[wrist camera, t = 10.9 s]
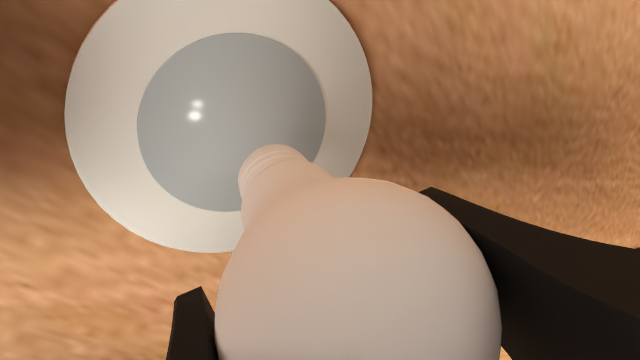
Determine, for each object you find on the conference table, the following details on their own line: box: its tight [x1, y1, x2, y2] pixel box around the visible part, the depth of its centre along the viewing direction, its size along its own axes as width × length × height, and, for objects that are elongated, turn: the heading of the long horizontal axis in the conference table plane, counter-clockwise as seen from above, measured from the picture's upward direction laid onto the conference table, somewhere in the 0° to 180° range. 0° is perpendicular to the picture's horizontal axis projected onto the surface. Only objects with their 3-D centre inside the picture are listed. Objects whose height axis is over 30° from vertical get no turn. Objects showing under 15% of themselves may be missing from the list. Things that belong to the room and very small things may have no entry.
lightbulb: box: [215, 144, 502, 360], centre depth 12 cm, size 6×6×11 cm
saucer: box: [64, 0, 372, 253], centre depth 20 cm, size 13×13×1 cm
